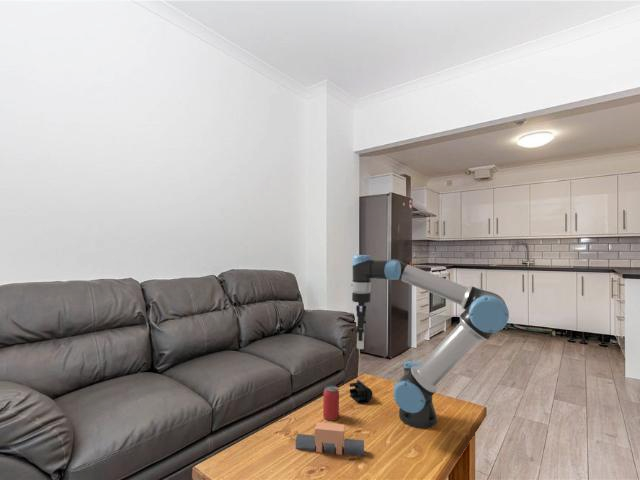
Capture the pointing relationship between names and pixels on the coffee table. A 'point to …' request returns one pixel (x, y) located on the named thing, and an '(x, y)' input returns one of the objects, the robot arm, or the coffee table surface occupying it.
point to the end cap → (360, 392)
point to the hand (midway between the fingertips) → (360, 343)
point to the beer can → (331, 403)
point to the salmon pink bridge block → (329, 436)
